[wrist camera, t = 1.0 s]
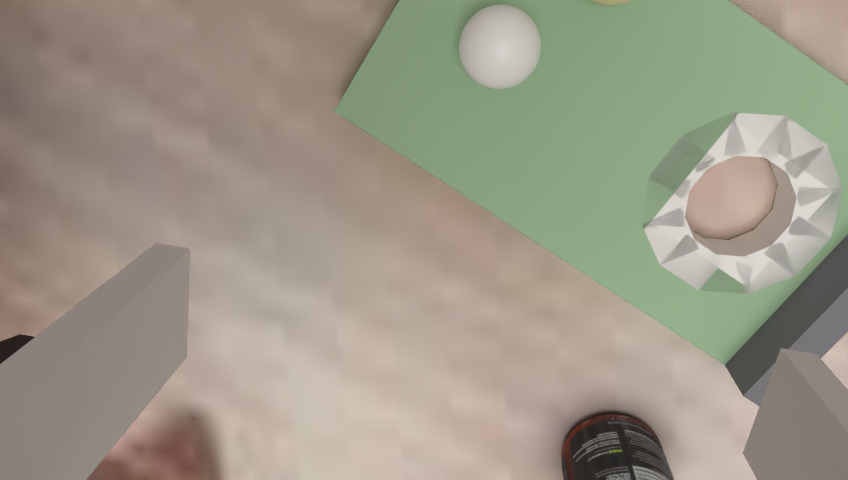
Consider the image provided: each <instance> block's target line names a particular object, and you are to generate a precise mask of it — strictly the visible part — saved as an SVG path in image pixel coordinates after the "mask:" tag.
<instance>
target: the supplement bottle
mask: <svg viewBox="0 0 848 480" xmlns="http://www.w3.org/2000/svg"><path fill="white" fill-rule="evenodd" d="M562 470H563V477H564V480H674V478H673V475H672V472H671V470H670V467H669V464H668V462H667V459H666V456H665V453H664V451H663V449H662V446H661V444H660V442H659V439H658V438H657V436H656V435H655V433H654V432H653V431H652V430H651V429H650V428H649V427H648V426H647V425H645V424H644V423H642V422H641V421H639V420H637V419H635V418H632V417H630V416H626V415H621V414H604V415H599V416H595V417H592V418H590V419H588V420H586V421H584V422H582V423H580V424H579V425H578V426H577V427H576V428H575V429H574V430H573V431H572V432H571V433H570V435H569V436H568V438H567V439H566V441H565V443H564V446H563V449H562Z"/></svg>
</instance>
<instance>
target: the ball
mask: <svg viewBox="0 0 848 480" xmlns="http://www.w3.org/2000/svg"><path fill="white" fill-rule="evenodd" d="M459 53H460V59H461V62H462V65H463V67H464V69H465V71H466V72H467V73H468V75H469V76H470V77H471V78H472V79H473V80H474V81H476V82H477V83H479V84H480V85H482V86H485V87H488V88H491V89H506V88H510V87H513V86H516V85H518V84H520V83H521V82H523V81H524V80H525V79H527V78H528V77H529V76H530V74H531V73H532V72H533V71H534V69H535V67H536V65H537V63H538V61H539V58H540V53H541V38H540V33H539V31H538V28H537V26H536V24H535V23H534V21H533V20H532V18H531V17H530V16H529V15H528V14H526V13H525V12H524V11H522V10H521V9H519V8H516V7H514V6H510V5H504V4H501V5H492V6H489V7H486V8H484V9H482V10H480V11H478V12H477V13H476V14H475V15H473V16H472V17H471V18H470V19H469V21H468V22H467V23H466V25H465V27H464V29H463V31H462V34H461V37H460V42H459Z"/></svg>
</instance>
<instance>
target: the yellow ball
mask: <svg viewBox="0 0 848 480" xmlns="http://www.w3.org/2000/svg"><path fill="white" fill-rule="evenodd" d="M592 1H594V2H596V3H599V4H602V5H620V4H624V3H627V2H629V1H631V0H592Z"/></svg>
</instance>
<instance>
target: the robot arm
mask: <svg viewBox="0 0 848 480" xmlns="http://www.w3.org/2000/svg"><path fill="white" fill-rule="evenodd" d="M189 258H190V249H187V248H181V247H175V246H169V245H163V244H157V243H156V244H155V245H154V246H152V247H151V248H150V249H148V250H147V251H146V252H144V253H143V254H142V255H141V256H139V257H138V258H137V259H135V260H134V261H133V262H132V263H130V264H129V265H128V266H126V267H125V268H124V269H123V270H121V271H120V272H119V273H117V274H116V275H115V276H113V277H112V278H111V279H110V280H108V281H107V282H106V283H104V284H103V285H102V286H101V287H99V288H98V289H97V290H95V291H94V292H93V293H91V294H90V295H89V296H88V297H86V298H85V299H84V300H82V301H81V302H80V303H79V304H77V305H76V306H75V307H73V308H72V309H71V310H70V311H68V312H67V313H66V314H64V315H63V316H62V317H60V318H59V319H58V320H57V321H55V322H54V323H53V324H51V325H50V326H49V327H48V328H46V329H45V330H44V331H42V332H41V333H40V334H38V335H37V336H36V337H32V336H26V335H20V334H19V335H17V336H14V337H12V338H9V339H6V340H4V341H1V342H0V480H86V479H87V478H88V477H89V476H90V474H91V473H92V472H93V471H94V469H95V468H96V467H97V466H98V465H99V463H100V462H101V461H102V460H103V458H104V457H105V456H106V455H107V454H108V452H109V451H110V450H111V449H112V447H113V446H114V445H115V444H116V442H117V441H118V440H119V439H120V438H121V436H122V435H123V434H124V433H125V431H126V430H127V429H128V428H129V427H130V425H131V424H132V423H133V422H134V420H135V419H136V418H137V417H138V416H139V414H140V413H141V412H142V411H143V409H144V408H145V407H146V406H147V405H148V403H149V402H150V401H151V400H152V398H153V397H154V396H155V395H156V394H157V392H158V391H159V390H160V389H161V387H162V386H163V385H164V384H165V383H166V381H167V380H168V379H169V378H170V376H171V375H172V374H173V373H174V372H175V370H176V369H177V368H178V367H179V365H180V364H181V363H182V362H183V360H184V359H185V358H186V357H187V326H188V292H189ZM743 454H744V456H745V458H746V460H747V461H748V463H749V465H750V467H751V469H752V471H753V473H754V474H755V476H756V478H757V480H848V389H847V388H846V387H845V386H844V385H843V384H842V383H841V381H840V380H839V379H838V378H837V377H836V376H835V375H834V374H833V372H832V371H831V370H830V369H829V368H828V367H827V366H826V364H825V363H824V362H823V361H822V360H821V359H820V358H819V357H818V355H817V354H813V353H807V352H801V351H795V350H789V349H783V348H781V349H780V352H779V355H778V357H777V360H776V363H775V366H774V368H773V371H772V374H771V377H770V379H769V382H768V385H767V388H766V391H765V393H764V396H763V399H762V402H761V404H760V407H759V410H758V413H757V415H756V418H755V421H754V424H753V427H752V429H751V432H750V435H749V438H748V440H747V443H746V446H745V449H744V451H743Z"/></svg>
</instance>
